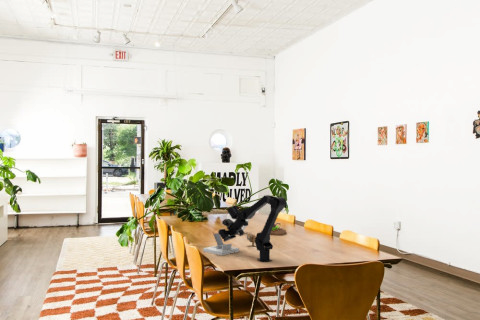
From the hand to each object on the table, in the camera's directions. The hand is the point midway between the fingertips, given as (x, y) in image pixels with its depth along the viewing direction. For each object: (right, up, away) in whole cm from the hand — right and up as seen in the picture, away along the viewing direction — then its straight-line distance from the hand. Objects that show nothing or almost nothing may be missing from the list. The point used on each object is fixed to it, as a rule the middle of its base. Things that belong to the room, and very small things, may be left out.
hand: (224, 241), depth 278 cm
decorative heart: (+8, -7, +65) cm, 66 cm away
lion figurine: (+21, -7, +19) cm, 29 cm away
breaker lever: (-2, -4, +2) cm, 4 cm away
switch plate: (-2, -7, +2) cm, 7 cm away
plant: (+37, -8, +72) cm, 81 cm away
